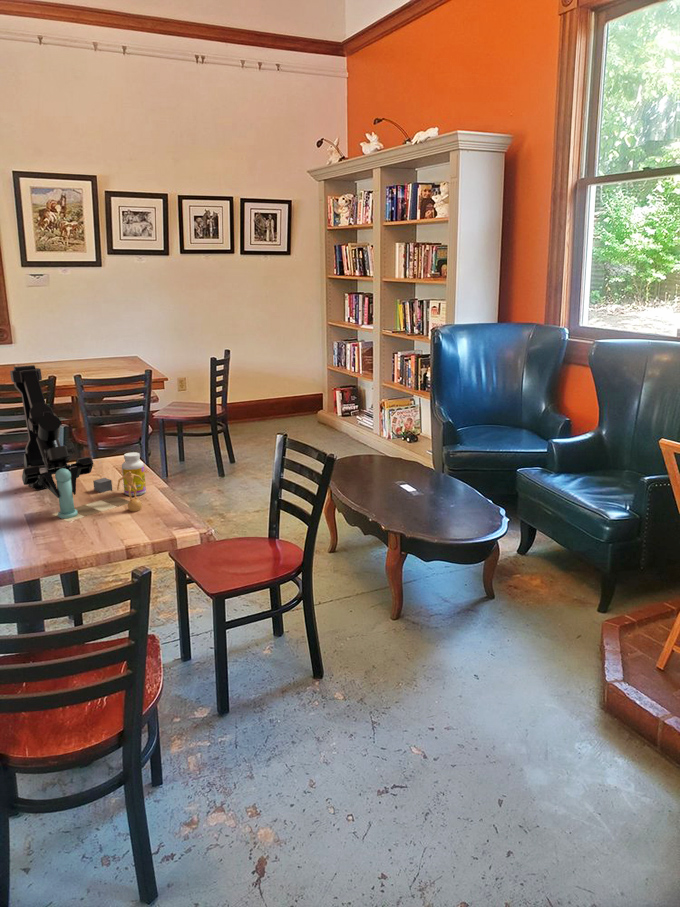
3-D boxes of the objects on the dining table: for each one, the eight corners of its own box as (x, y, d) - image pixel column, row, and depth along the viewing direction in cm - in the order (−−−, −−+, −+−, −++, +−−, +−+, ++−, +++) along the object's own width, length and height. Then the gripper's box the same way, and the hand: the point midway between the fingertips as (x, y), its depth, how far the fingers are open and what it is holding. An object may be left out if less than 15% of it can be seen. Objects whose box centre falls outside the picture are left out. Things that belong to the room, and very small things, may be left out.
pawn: (54, 515, 195) (48, 469, 192) (72, 510, 199) (66, 464, 195) (64, 520, 192) (58, 472, 188) (81, 514, 196) (75, 468, 192)
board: (50, 516, 197) (50, 514, 197) (115, 497, 212) (115, 495, 212) (68, 524, 191) (67, 522, 191) (134, 504, 206) (133, 502, 206)
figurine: (123, 516, 196) (119, 477, 193) (117, 511, 201) (112, 472, 198) (151, 510, 201) (148, 471, 197) (144, 505, 205) (140, 467, 202)
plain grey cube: (94, 492, 218) (93, 480, 217) (105, 489, 221) (104, 477, 220) (101, 495, 215) (99, 483, 214) (112, 492, 218) (111, 480, 217)
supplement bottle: (147, 495, 214) (143, 455, 211) (125, 497, 212) (120, 458, 209) (145, 488, 220) (142, 450, 217) (124, 491, 218) (120, 452, 215)
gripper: (18, 439, 187) (34, 488, 182) (87, 429, 198) (104, 474, 192) (15, 461, 195) (31, 508, 190) (82, 450, 206) (98, 494, 201)
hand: (66, 495), depth 193 cm, fingers open, 4 cm apart
